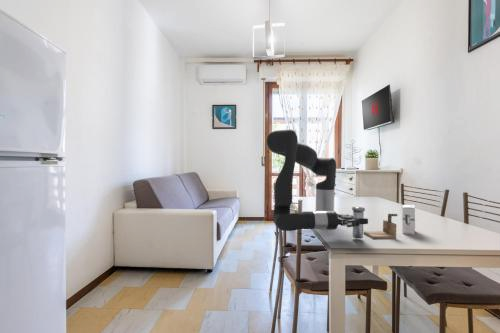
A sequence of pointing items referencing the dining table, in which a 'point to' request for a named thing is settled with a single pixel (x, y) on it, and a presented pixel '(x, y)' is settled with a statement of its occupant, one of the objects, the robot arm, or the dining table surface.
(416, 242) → the dining table surface
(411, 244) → the dining table surface
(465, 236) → the dining table surface
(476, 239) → the dining table surface
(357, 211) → the steel pin
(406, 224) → the ink box
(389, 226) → the block
